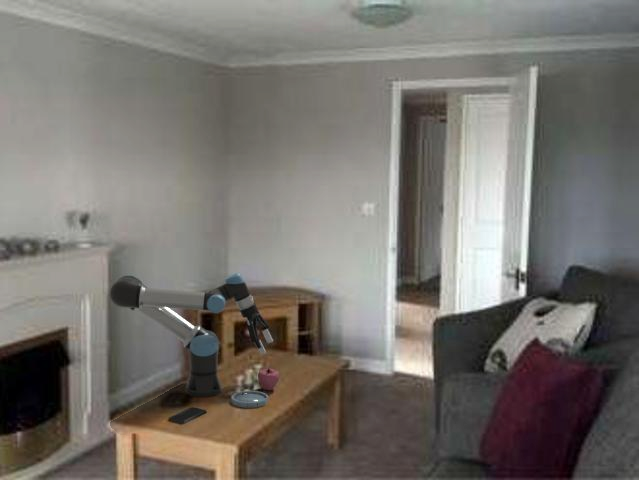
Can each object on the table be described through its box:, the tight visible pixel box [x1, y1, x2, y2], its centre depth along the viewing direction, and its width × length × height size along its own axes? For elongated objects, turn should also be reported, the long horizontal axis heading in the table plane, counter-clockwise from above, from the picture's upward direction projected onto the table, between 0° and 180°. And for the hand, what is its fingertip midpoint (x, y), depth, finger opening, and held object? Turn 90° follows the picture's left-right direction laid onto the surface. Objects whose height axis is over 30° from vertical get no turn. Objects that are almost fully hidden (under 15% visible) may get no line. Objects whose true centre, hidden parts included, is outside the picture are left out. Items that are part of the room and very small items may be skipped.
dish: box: [230, 390, 270, 409], centre depth 281 cm, size 15×15×2 cm
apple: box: [257, 368, 280, 391], centre depth 296 cm, size 10×9×10 cm
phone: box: [167, 406, 208, 425], centre depth 262 cm, size 8×1×15 cm
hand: (267, 348), depth 306 cm, fingers open, 13 cm apart
